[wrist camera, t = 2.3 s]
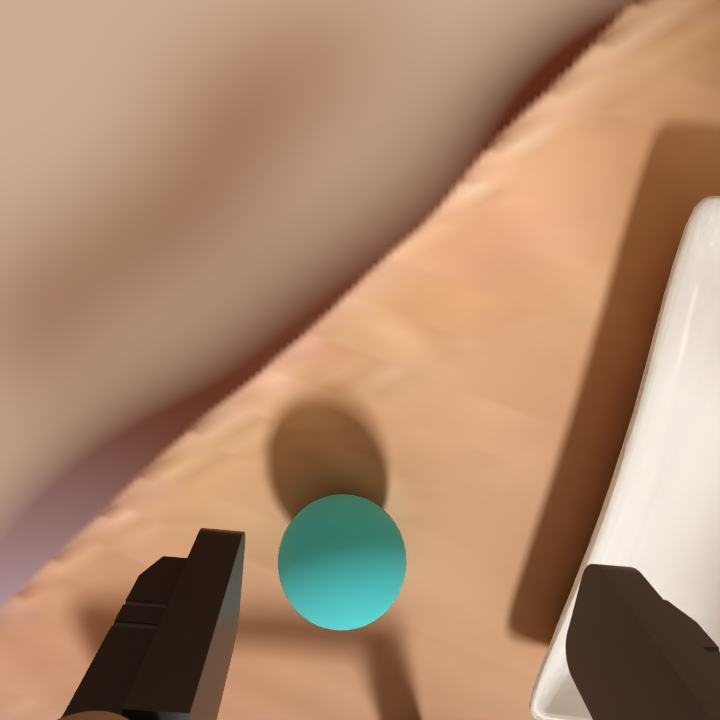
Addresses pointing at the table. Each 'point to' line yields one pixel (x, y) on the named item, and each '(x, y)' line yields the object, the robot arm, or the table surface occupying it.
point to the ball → (342, 562)
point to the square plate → (663, 465)
